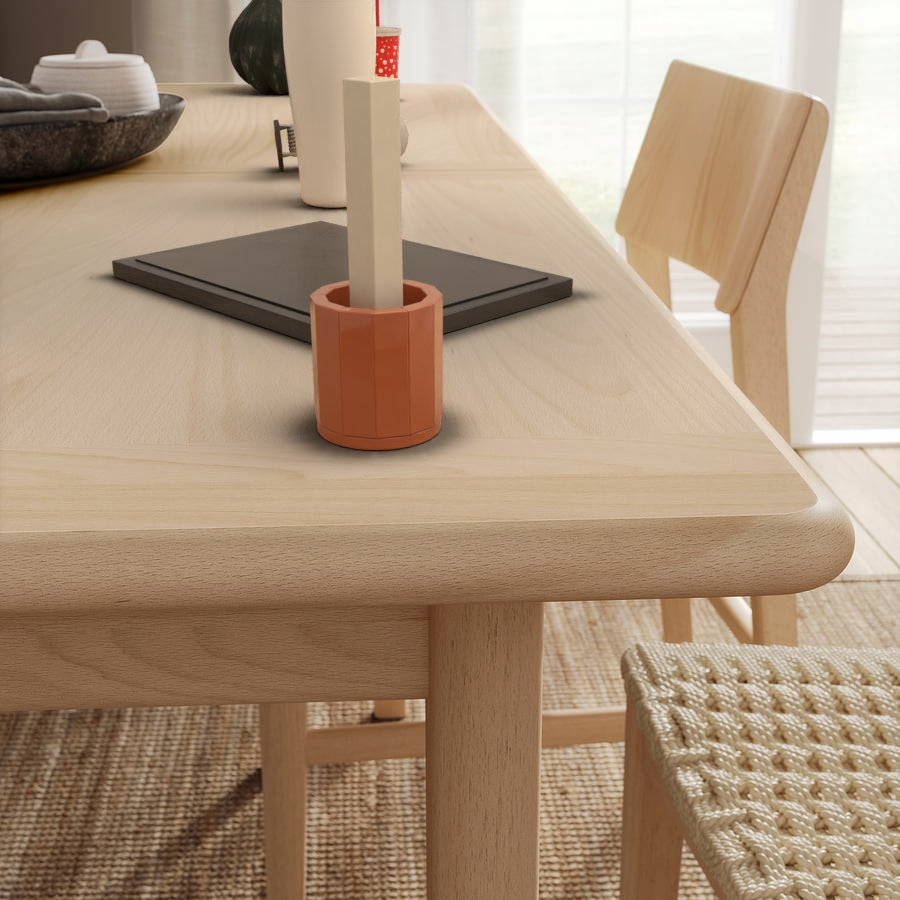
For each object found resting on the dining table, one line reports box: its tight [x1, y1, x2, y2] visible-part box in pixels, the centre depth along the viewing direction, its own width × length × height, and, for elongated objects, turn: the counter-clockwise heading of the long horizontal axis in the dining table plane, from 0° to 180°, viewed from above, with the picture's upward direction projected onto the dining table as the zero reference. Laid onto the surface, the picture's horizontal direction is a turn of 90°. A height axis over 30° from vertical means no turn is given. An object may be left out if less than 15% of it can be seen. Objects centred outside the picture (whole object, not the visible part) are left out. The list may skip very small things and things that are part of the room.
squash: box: [228, 0, 289, 95], centre depth 162 cm, size 14×15×15 cm
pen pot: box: [310, 280, 444, 451], centre depth 46 cm, size 5×5×6 cm
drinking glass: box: [282, 0, 376, 209], centre depth 87 cm, size 7×7×15 cm
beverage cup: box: [374, 0, 403, 79], centre depth 151 cm, size 6×6×14 cm
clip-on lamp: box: [273, 116, 409, 170], centre depth 106 cm, size 12×6×18 cm
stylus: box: [343, 76, 403, 309], centre depth 45 cm, size 2×2×13 cm
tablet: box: [111, 220, 574, 344], centre depth 67 cm, size 22×16×1 cm
